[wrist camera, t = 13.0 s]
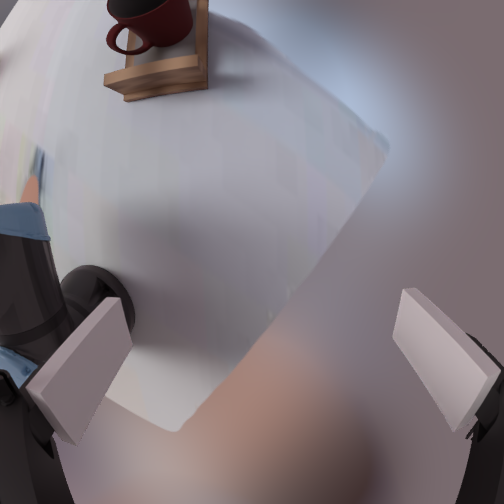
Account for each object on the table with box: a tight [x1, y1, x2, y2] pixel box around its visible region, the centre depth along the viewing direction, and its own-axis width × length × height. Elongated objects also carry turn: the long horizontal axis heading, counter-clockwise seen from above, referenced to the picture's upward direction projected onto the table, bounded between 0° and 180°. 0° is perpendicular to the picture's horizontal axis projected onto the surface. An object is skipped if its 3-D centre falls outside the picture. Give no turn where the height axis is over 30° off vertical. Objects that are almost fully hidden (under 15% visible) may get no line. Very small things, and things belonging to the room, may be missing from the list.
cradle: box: [104, 0, 209, 102], centre depth 26 cm, size 12×20×7 cm, turn 2°
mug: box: [106, 0, 193, 55], centre depth 22 cm, size 12×9×11 cm
